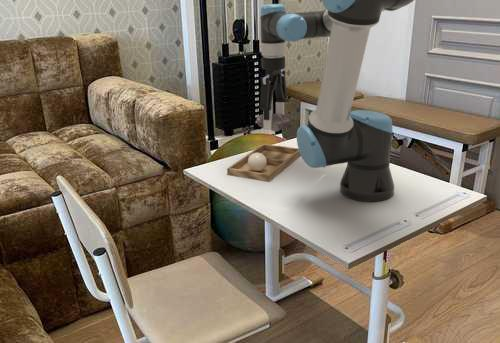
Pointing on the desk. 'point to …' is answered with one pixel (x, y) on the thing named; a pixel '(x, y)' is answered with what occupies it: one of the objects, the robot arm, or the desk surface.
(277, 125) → the rock
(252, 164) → the ceramic ball
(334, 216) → the desk surface
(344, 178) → the robot arm
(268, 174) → the wooden tray
